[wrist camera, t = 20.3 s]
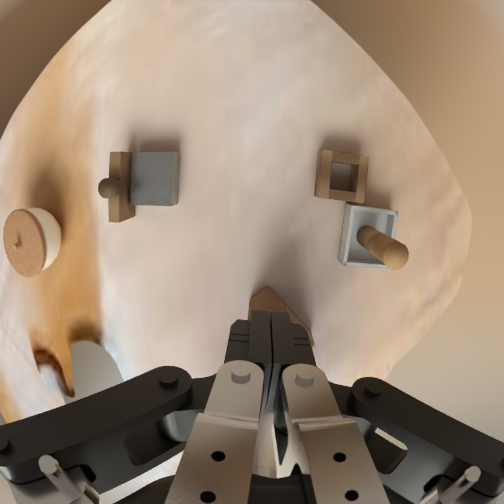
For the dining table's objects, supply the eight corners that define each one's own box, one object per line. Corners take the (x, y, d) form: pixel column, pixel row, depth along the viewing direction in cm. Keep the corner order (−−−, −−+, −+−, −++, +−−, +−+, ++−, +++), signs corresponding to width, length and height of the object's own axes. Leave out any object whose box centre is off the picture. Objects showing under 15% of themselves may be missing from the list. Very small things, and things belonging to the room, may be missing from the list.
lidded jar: (39, 266, 41) (7, 283, 32) (26, 209, 38) (-9, 219, 29) (78, 259, 40) (43, 278, 31) (64, 195, 37) (26, 204, 28)
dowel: (373, 247, 37) (405, 270, 28) (354, 245, 37) (382, 268, 28) (377, 226, 36) (411, 244, 27) (358, 224, 36) (388, 241, 27)
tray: (381, 263, 38) (388, 268, 36) (337, 259, 38) (342, 265, 36) (390, 209, 36) (398, 212, 34) (345, 203, 36) (351, 205, 34)
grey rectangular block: (178, 203, 37) (171, 206, 34) (139, 202, 37) (130, 204, 35) (180, 152, 35) (174, 151, 33) (140, 153, 35) (131, 152, 33)
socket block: (356, 200, 36) (363, 203, 33) (314, 195, 36) (318, 197, 33) (360, 157, 34) (368, 156, 32) (318, 151, 34) (323, 149, 32)
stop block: (137, 216, 38) (114, 225, 31) (123, 215, 38) (98, 224, 31) (139, 153, 35) (115, 150, 28) (124, 153, 35) (99, 151, 28)
